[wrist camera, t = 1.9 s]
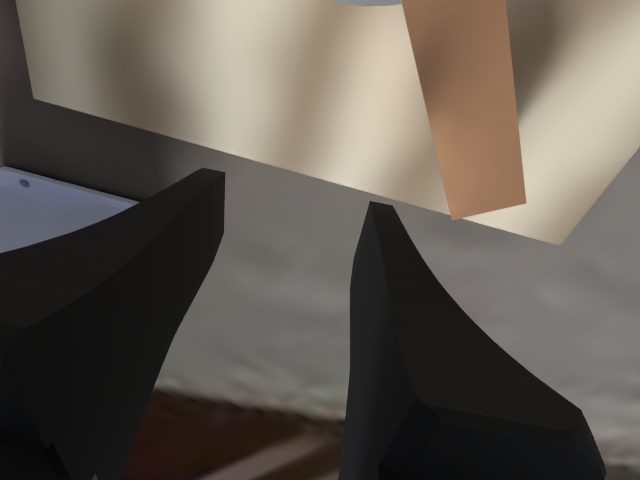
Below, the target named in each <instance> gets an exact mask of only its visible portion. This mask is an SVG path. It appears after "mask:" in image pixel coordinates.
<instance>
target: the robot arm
mask: <svg viewBox="0 0 640 480" xmlns="http://www.w3.org/2000/svg"><path fill="white" fill-rule="evenodd" d="M25 180H26V181H27V182H26V181H25ZM28 182H29V183H28ZM224 200H225V172H221V171H216V170H211V169H206V168H201V169H199V170H197V171H196V172H194V173H192V174H190V175H188V176H187V177H185V178H183V179H182V180H180V181H178V182H176V183H175V184H173V185H171V186H169V187H168V188H166V189H164V190H162V191H160V192H159V193H157V194H155V195H153V196H152V197H150V198H148V199H146V200H144V201H142V202H137V201H133V200H130V199H126V198H122V197H118V196H115V195H111V194H107V193H103V192H100V191H96V190H92V189H89V188H85V187H81V186H77V185H74V184H70V183H66V182H62V181H59V180H55V179H51V178H47V177H44V176H40V175H36V174H32V173H29V172H25V171H21V170H18V169H14V168H10V167H1V168H0V480H121V477H122V474H123V472H124V469H125V466H126V463H127V460H128V457H129V454H130V451H131V448H132V445H133V442H134V439H135V437H136V434H137V431H138V428H139V425H140V423H141V420H142V417H143V414H144V412H145V409H146V406H147V403H148V401H149V398H150V396H151V393H152V390H153V388H154V385H155V382H156V380H157V377H158V375H159V372H160V370H161V367H162V365H163V362H164V360H165V357H166V355H167V352H168V350H169V347H170V345H171V342H172V340H173V338H174V336H175V334H176V332H177V329H178V327H179V325H180V324H181V322H182V320H183V318H184V316H185V314H186V312H187V311H188V309H189V307H190V305H191V303H192V301H193V299H194V297H195V296H196V294H197V292H198V290H199V288H200V286H201V284H202V283H203V281H204V279H205V277H206V275H207V273H208V271H209V269H210V267H211V265H212V263H213V261H214V258H215V256H216V253H217V251H218V248H219V245H220V242H221V239H222V236H223V234H224ZM606 474H607V473H606V469H605V466H604V462H603V460H602V457H601V455H600V452H599V450H598V447H597V445H596V442H595V440H594V437H593V435H592V433H591V430H590V428H589V426H588V424H587V421H586V419H585V417H584V415H583V413H582V411H581V410H580V409H579V408H578V407H576V406H575V405H574V404H572V403H571V402H569V401H568V400H567V399H565V398H564V397H563V396H561V395H560V394H559V393H557V392H556V391H554V390H553V389H552V388H550V387H549V386H548V385H546V384H545V383H544V382H542V381H541V380H539V379H538V378H537V377H535V376H534V375H533V374H532V373H530V372H529V371H528V370H527V369H525V368H524V367H523V366H522V365H521V364H519V363H518V362H517V361H516V360H515V359H513V358H512V357H511V356H510V355H509V354H507V353H506V352H505V351H504V350H503V349H502V348H501V347H500V346H498V345H497V344H496V343H495V342H494V341H493V340H492V339H491V338H490V337H489V336H488V335H487V334H486V333H485V332H484V331H483V330H482V329H481V328H480V327H479V326H478V325H476V324H475V323H474V322H473V321H472V320H471V318H470V317H469V316H468V315H467V314H466V313H465V312H464V311H463V310H462V309H461V308H460V307H459V305H458V304H457V303H456V302H455V301H454V300H453V298H452V297H451V296H450V295H449V294H448V293H447V291H446V290H445V289H444V288H443V286H442V285H441V284H440V283H439V281H438V280H437V279H436V277H435V276H434V274H433V273H432V272H431V270H430V269H429V267H428V266H427V264H426V263H425V261H424V260H423V258H422V257H421V255H420V253H419V252H418V250H417V249H416V247H415V245H414V244H413V242H412V240H411V238H410V237H409V235H408V233H407V231H406V229H405V228H404V226H403V224H402V222H401V220H400V218H399V216H398V214H397V212H396V211H395V209H394V207H393V206H392V205H387V204H382V203H377V202H372V201H370V203H369V207H368V210H367V214H366V217H365V221H364V224H363V228H362V231H361V235H360V238H359V242H358V245H357V249H356V252H355V256H354V261H353V269H352V277H351V285H350V377H349V387H348V397H347V407H346V417H345V426H344V435H343V445H342V453H341V462H340V470H339V478H338V480H604V479H605V476H606Z"/></svg>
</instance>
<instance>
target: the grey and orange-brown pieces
mask: <svg viewBox="0 0 640 480" xmlns="http://www.w3.org/2000/svg"><path fill="white" fill-rule="evenodd" d="M330 1H333V2H337V3H342V4H350V5H358V6H391V5H397V4H402V8H403V13H404V17H405V21H406V26H407V30H408V34H409V39H410V43H411V47H412V52H413V56H414V60H415V65H416V69H417V73H418V78H419V82H420V86H421V91H422V95H423V100H424V104H425V108H426V113H427V117H428V121H429V126H430V130H431V134H432V139H433V143H434V147H435V152H436V156H437V160H438V165H439V169H440V173H441V178H442V182H443V186H444V190H445V194H446V198H447V203H448V207H449V211H450V215H451V219H452V220H456V219H460V218H465V217H469V216H473V215H478V214H482V213H487V212H491V211H496V210H500V209H504V208H509V207H513V206H518V205H522V204H526V194H525V184H524V175H523V165H522V155H521V145H520V136H519V126H518V116H517V107H516V97H515V87H514V78H513V68H512V58H511V49H510V39H509V29H508V20H507V10H506V0H330Z"/></svg>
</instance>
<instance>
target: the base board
mask: <svg viewBox="0 0 640 480" xmlns="http://www.w3.org/2000/svg"><path fill="white" fill-rule="evenodd" d="M15 1H16V6H17V11H18V17H19V22H20V28H21V33H22V38H23V44H24V49H25V55H26V60H27V66H28V71H29V76H30V82H31V87H32V93H33V98H34V99H37V100H40V101H44V102H48V103H51V104H55V105H58V106H62V107H65V108H69V109H73V110H76V111H80V112H83V113H87V114H91V115H94V116H98V117H101V118H105V119H108V120H112V121H116V122H119V123H123V124H126V125H130V126H133V127H137V128H141V129H144V130H148V131H151V132H155V133H158V134H162V135H166V136H169V137H173V138H176V139H180V140H183V141H187V142H191V143H194V144H198V145H201V146H205V147H208V148H212V149H216V150H219V151H223V152H226V153H230V154H234V155H237V156H241V157H244V158H248V159H251V160H255V161H259V162H262V163H266V164H269V165H273V166H276V167H280V168H284V169H287V170H291V171H294V172H298V173H301V174H305V175H309V176H312V177H316V178H319V179H323V180H326V181H330V182H334V183H337V184H341V185H344V186H348V187H351V188H355V189H359V190H362V191H366V192H369V193H373V194H377V195H380V196H384V197H387V198H391V199H394V200H398V201H402V202H405V203H409V204H412V205H416V206H419V207H423V208H427V209H430V210H434V211H437V212H441V213H444V214H448V215H450V211H449V207H448V203H447V198H446V194H445V190H444V186H443V182H442V178H441V173H440V169H439V165H438V160H437V156H436V152H435V147H434V143H433V139H432V134H431V130H430V126H429V121H428V117H427V113H426V108H425V104H424V100H423V95H422V91H421V86H420V82H419V78H418V73H417V69H416V65H415V60H414V56H413V52H412V47H411V43H410V39H409V34H408V30H407V26H406V21H405V17H404V13H403V8H402V4H397V5H391V6H358V5H350V4H342V3H337V2H333V1H330V0H15ZM506 10H507V20H508V29H509V39H510V49H511V58H512V68H513V78H514V87H515V97H516V107H517V116H518V126H519V136H520V145H521V155H522V165H523V175H524V184H525V194H526V204H522V205H518V206H513V207H509V208H504V209H500V210H496V211H491V212H487V213H482V214H478V215H473V216H469V217H465V218H462V219H466V220H469V221H473V222H477V223H480V224H484V225H487V226H491V227H494V228H498V229H502V230H505V231H509V232H512V233H516V234H520V235H523V236H527V237H530V238H534V239H537V240H541V241H545V242H548V243H552V244H555V245H559V246H560V245H561V243H562V242H563V241H564V240H565V238H566V237H567V236H568V235H569V234H570V232H571V231H572V230H573V229H574V227H575V226H576V225H577V224H578V222H579V221H580V220H581V219H582V217H583V216H584V215H585V214H586V212H587V211H588V210H589V209H590V208H591V206H592V205H593V204H594V203H595V201H596V200H597V199H598V198H599V196H600V195H601V194H602V193H603V191H604V190H605V189H606V188H607V186H608V185H609V184H610V183H611V182H612V180H613V179H614V178H615V177H616V175H617V174H618V173H619V172H620V170H621V169H622V168H623V167H624V165H625V164H626V163H627V162H628V160H629V159H630V158H631V157H632V156H633V154H634V153H635V152H636V151H637V149H638V148H639V147H640V0H506Z"/></svg>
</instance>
